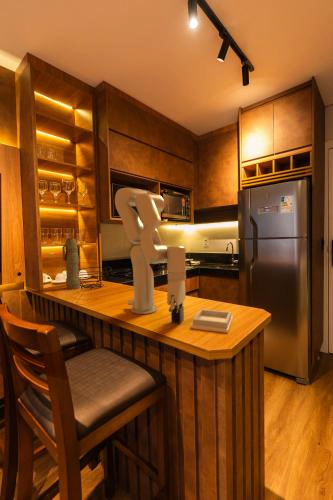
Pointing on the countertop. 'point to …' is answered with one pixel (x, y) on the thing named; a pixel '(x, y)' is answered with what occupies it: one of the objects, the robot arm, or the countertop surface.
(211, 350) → the countertop surface
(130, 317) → the countertop surface
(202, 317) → the tray
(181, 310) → the connector plug
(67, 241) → the thermos
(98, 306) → the countertop surface
